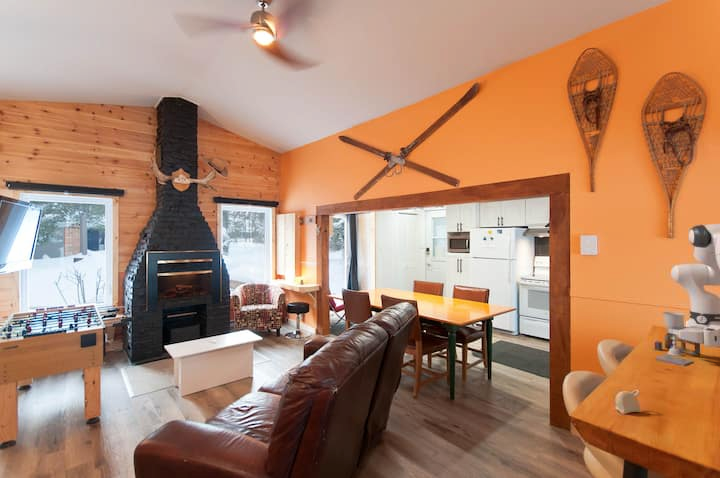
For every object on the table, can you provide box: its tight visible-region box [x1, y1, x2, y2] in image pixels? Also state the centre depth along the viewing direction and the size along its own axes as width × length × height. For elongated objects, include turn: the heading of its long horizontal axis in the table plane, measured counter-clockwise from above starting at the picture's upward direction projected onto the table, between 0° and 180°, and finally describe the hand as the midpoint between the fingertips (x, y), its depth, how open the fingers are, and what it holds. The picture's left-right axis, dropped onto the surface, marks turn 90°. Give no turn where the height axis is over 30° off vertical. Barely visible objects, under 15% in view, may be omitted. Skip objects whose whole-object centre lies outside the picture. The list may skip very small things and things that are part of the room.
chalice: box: [662, 311, 686, 357], centre depth 151 cm, size 7×7×18 cm
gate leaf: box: [664, 333, 701, 357], centre depth 153 cm, size 14×2×6 cm, turn 10°
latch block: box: [654, 340, 663, 351], centre depth 158 cm, size 3×2×4 cm, turn 120°
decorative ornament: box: [614, 389, 643, 415], centre depth 99 cm, size 4×8×5 cm, turn 99°
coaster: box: [655, 354, 694, 367], centre depth 142 cm, size 9×9×1 cm
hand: (673, 329), depth 151 cm, fingers open, 8 cm apart
